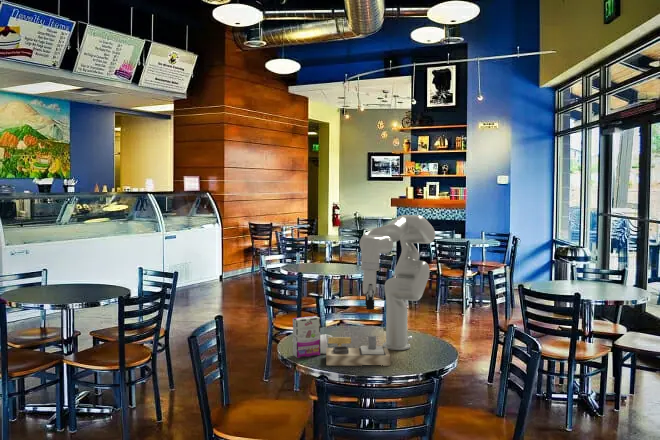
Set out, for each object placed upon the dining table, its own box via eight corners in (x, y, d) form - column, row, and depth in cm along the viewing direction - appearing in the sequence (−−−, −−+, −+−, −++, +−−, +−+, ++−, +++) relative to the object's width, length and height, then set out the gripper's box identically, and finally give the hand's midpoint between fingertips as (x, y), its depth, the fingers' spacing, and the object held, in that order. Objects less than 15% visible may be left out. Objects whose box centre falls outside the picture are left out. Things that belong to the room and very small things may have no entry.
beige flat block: (326, 365, 240) (326, 351, 240) (326, 357, 252) (326, 344, 252) (390, 365, 241) (390, 352, 240) (387, 357, 253) (387, 344, 252)
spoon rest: (305, 341, 280) (305, 326, 280) (330, 340, 282) (330, 325, 281) (310, 355, 257) (310, 338, 256) (337, 354, 258) (337, 337, 258)
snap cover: (361, 354, 242) (362, 339, 242) (360, 348, 251) (360, 334, 251) (383, 354, 242) (384, 339, 242) (381, 348, 251) (381, 334, 251)
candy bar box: (315, 352, 260) (316, 315, 259) (320, 355, 255) (320, 317, 254) (292, 355, 255) (292, 317, 254) (296, 358, 250) (296, 319, 249)
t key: (350, 350, 264) (350, 336, 264) (351, 352, 260) (351, 338, 260) (328, 350, 264) (328, 336, 263) (328, 352, 260) (328, 338, 259)
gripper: (360, 263, 255) (360, 303, 255) (361, 268, 237) (361, 311, 238) (378, 264, 254) (377, 303, 255) (380, 269, 237) (379, 311, 238)
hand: (369, 307), depth 246 cm, fingers open, 9 cm apart
